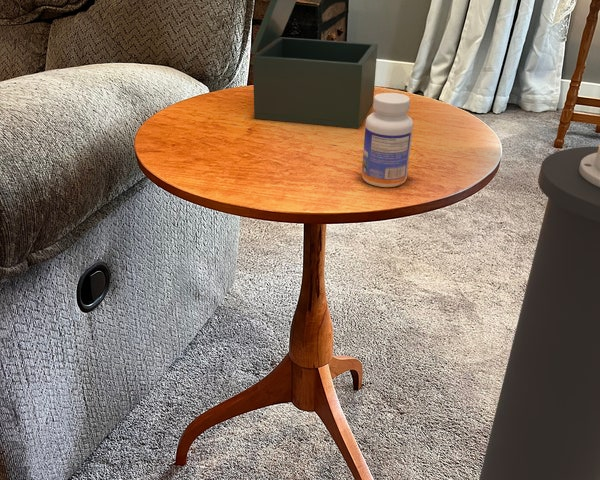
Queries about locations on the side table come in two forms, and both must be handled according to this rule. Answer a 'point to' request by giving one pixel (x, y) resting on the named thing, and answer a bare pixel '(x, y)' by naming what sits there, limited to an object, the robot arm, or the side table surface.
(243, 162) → the side table surface
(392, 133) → the pill bottle
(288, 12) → the case lid
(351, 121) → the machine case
